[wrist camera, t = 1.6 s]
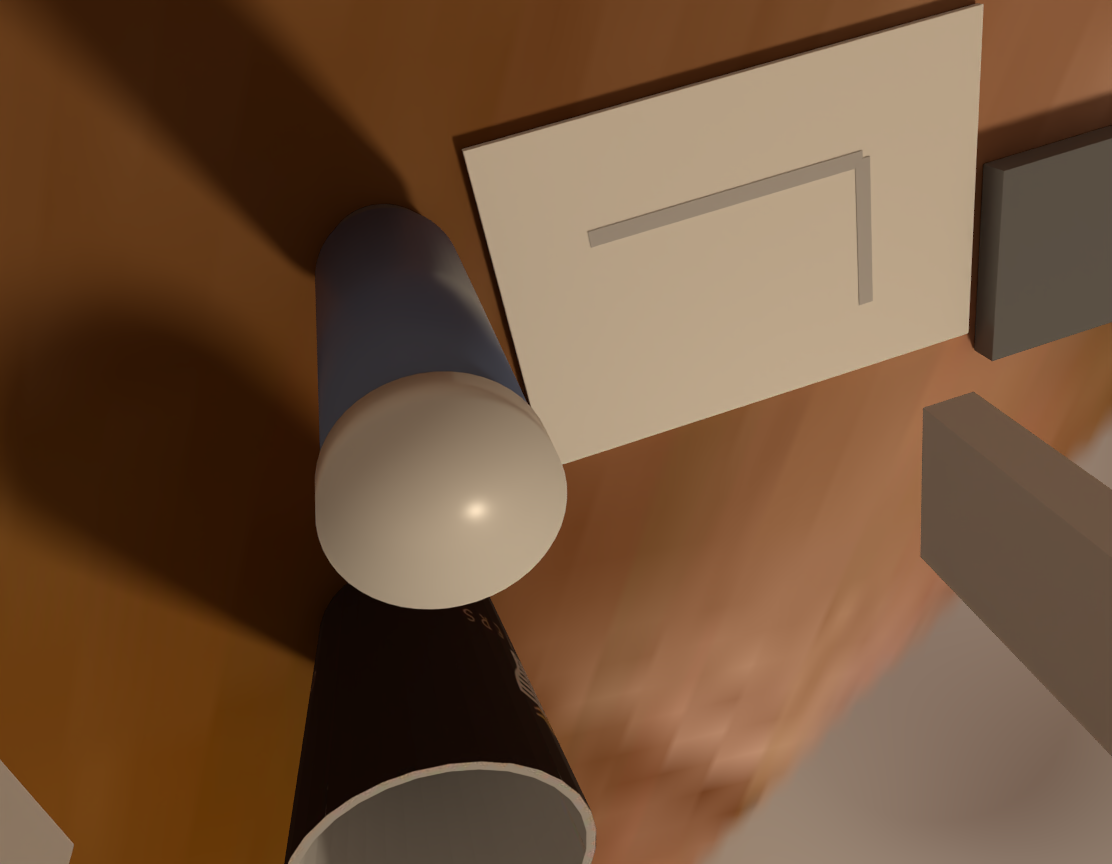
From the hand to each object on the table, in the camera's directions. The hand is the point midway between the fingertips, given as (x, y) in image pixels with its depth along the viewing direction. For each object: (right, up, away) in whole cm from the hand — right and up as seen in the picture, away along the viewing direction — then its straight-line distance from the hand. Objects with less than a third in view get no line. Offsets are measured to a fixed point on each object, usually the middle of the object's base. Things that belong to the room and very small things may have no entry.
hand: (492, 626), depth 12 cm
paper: (+7, +8, +16) cm, 20 cm away
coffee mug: (-5, -6, +21) cm, 23 cm away
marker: (-4, +8, +14) cm, 16 cm away
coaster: (+19, +10, +19) cm, 29 cm away
